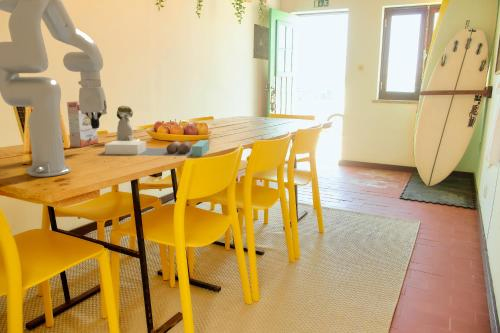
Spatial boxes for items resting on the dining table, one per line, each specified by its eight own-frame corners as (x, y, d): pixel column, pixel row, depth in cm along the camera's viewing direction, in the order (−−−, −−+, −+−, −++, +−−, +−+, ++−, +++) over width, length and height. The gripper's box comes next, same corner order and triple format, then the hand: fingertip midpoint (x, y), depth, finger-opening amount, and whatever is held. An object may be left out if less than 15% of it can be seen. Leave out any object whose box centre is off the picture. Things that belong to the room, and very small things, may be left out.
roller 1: (173, 155, 161) (177, 147, 160) (164, 150, 161) (169, 142, 160) (178, 151, 170) (182, 143, 169) (170, 147, 170) (174, 139, 169)
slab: (138, 154, 159) (137, 144, 158) (105, 153, 160) (104, 144, 160) (146, 150, 169) (145, 141, 168) (115, 149, 170) (114, 140, 169)
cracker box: (81, 147, 178) (77, 101, 174) (70, 147, 179) (65, 101, 175) (99, 142, 192) (95, 100, 187) (88, 142, 193) (84, 100, 188)
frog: (108, 145, 186) (105, 106, 182) (121, 140, 198) (119, 104, 194) (131, 145, 184) (128, 106, 180) (143, 141, 196) (141, 105, 192)
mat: (202, 157, 156) (202, 156, 156) (97, 155, 160) (97, 154, 160) (209, 150, 172) (209, 149, 172) (113, 148, 175) (113, 147, 175)
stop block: (202, 156, 156) (201, 146, 155) (192, 156, 157) (192, 146, 156) (209, 149, 172) (209, 140, 171) (200, 149, 172) (200, 140, 171)
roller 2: (188, 146, 160) (179, 143, 159) (185, 155, 160) (176, 152, 160) (193, 143, 168) (184, 139, 168) (190, 151, 169) (181, 148, 169)
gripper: (69, 84, 157) (74, 129, 161) (104, 84, 155) (108, 129, 160) (78, 83, 164) (83, 126, 168) (112, 83, 163) (116, 127, 167)
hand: (95, 128), depth 164 cm, fingers closed
